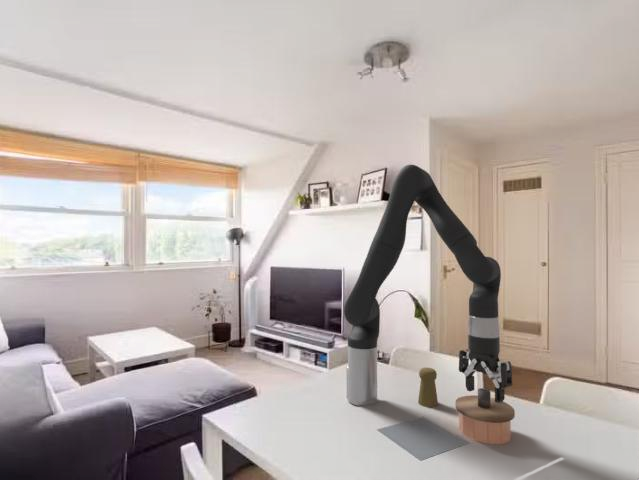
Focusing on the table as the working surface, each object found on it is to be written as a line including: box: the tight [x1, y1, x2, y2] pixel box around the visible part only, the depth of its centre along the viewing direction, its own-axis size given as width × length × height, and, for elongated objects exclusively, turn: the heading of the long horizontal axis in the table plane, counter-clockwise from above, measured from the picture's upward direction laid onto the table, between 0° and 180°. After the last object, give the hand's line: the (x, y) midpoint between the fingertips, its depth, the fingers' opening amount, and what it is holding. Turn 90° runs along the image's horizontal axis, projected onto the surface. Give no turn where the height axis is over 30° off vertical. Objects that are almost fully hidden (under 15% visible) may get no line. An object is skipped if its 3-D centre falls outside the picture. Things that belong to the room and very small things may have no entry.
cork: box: [417, 367, 439, 408], centre depth 114 cm, size 6×6×11 cm
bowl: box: [458, 411, 512, 445], centre depth 96 cm, size 12×12×6 cm
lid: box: [455, 387, 516, 423], centre depth 96 cm, size 14×14×5 cm
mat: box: [376, 416, 470, 462], centre depth 94 cm, size 16×16×1 cm
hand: (484, 396), depth 96 cm, fingers open, 8 cm apart
